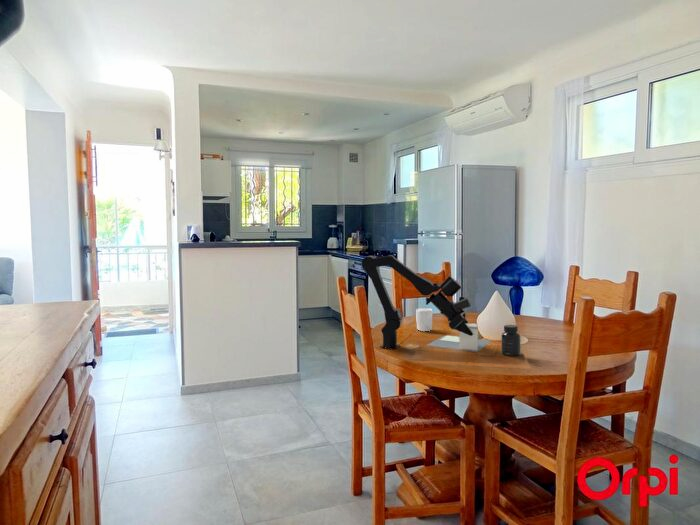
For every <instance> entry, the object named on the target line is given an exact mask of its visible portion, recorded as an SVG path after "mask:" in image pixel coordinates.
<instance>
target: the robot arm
mask: <svg viewBox="0 0 700 525" xmlns="http://www.w3.org/2000/svg"><path fill="white" fill-rule="evenodd" d="M361 260H362V261H361V263H360V264H361V267H362V268H363V270H364V272H365V273H366V275H367V276H368V277H369V279H370V280H371V282H372V285H373V286H374V289H375V290H374V291H375V292H376V294H377V297H378V299H379V302H380V303H381V307H382V309H383V312H384V321H385V324H383V326H382V328H381V329H380V331H381V334H382V344H381V345H380V346H379V348H381V347H386V348H385V349H388V348H391V349H390V350H394V348H395V349H397V348H399V347H401V344H398V335H397V334H398V332H397V330H399V328H401V326H402V324H403V322H404V321H403V317H404V316H403V315H402V313H401V308H397V309H396V307H395V306H394V304H393V301H392V300H391V297H390V295H389V293H388V292H389V291H388V290H387V287H386V286H385V283H384V281H383V278H382V275H381V270H380V267H384V266H389V267H390V268H391V269H392V270H394V271H395V272H397V273H398V274H400V275H401V276H402V277H404V279H406V280H407V281H409V282H410V283H411V284H412V285H413V287H414V288H415V290H417V291H418V292H419V293H420V295H422V296H429V297H425V305H429V304H430V303H431V304H432V305H433V306H434V307H435V308H436V309H437V310H439V312H440V314H441V315H443V316H444V317H446V319H447V321H448V327H449V328H450V329H451V330H455V331H458V332H459V331H460V332H463V333H465V334H468V335H470V336H472V335H473V333H472V332H471V330H470V329H469V328H468V326H467V325H466V323H469V322H468V320H467V319H466V318H467V317H466V311H465V309H466V308H469V307H471V302H470V300H469V298H468V297H464V296H462V295H461V296H460V297H458V300H457V301H456V302H454V301H453V300H450V299H449V298H448V297H450V298H452V297H454V296H455V295H456V294H457V293H458V292H459V291H460V290H461V289H462V288H463V286H462V285H461V284H460V283H459V282H458V280H456V279H455V278H453V277H452V276H451V275H448V276H447V277H446V279H444V281H442V283H435V282H433V281H432V280H430V279H428V278H426V277H424V276H422V275H419V274H418V273H416V272H415V271H413V270H412V269H411V268H409V267H408V266H407V265H405V264H404V263H403V262H401V261H400V260H399V259H398V258H396V257H395V256H394V255H392V254H389V255H384V256H377V257H376V256H374V255H368V256H365V257H364V258H362V259H361ZM435 292H437V293H435ZM398 346H399V347H398ZM396 347H397V348H396Z"/></svg>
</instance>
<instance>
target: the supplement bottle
mask: <svg viewBox="0 0 700 525" xmlns="http://www.w3.org/2000/svg"><path fill="white" fill-rule="evenodd" d="M518 331H519V329H518V325H516V324H505V325H504V326H503V333H501V339H500V340H501V355H502V356H505V357H509V358H510V357H511V358H513V357H520V356H521V334H520V333H519V332H518Z"/></svg>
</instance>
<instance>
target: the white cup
mask: <svg viewBox="0 0 700 525" xmlns="http://www.w3.org/2000/svg"><path fill="white" fill-rule="evenodd" d="M415 316H416V317H415V318H416V319H415V320H416V330H417V329H418V330H421V331H429V332H431V331H432V330H433V329H432V327H433V309H432V308H426V307H425V308H424V307H422V308H421V307H420V308H416V309H415ZM418 330H417V331H418ZM430 330H431V331H430Z"/></svg>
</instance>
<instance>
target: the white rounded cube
mask: <svg viewBox="0 0 700 525" xmlns="http://www.w3.org/2000/svg"><path fill="white" fill-rule="evenodd" d="M466 325H467V326H468V328H469V329H470V330H471V332H472V333H473V335H472V336H470V335H468V334H465V333H463V332H460V331H458V332H459V334H458V335H459V336H458V337H459V349H465V350H478V339H479V331H478V330H479V325H478V323H474V322H473V323H469V322H468V323H466ZM465 350H464V351H465Z"/></svg>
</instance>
